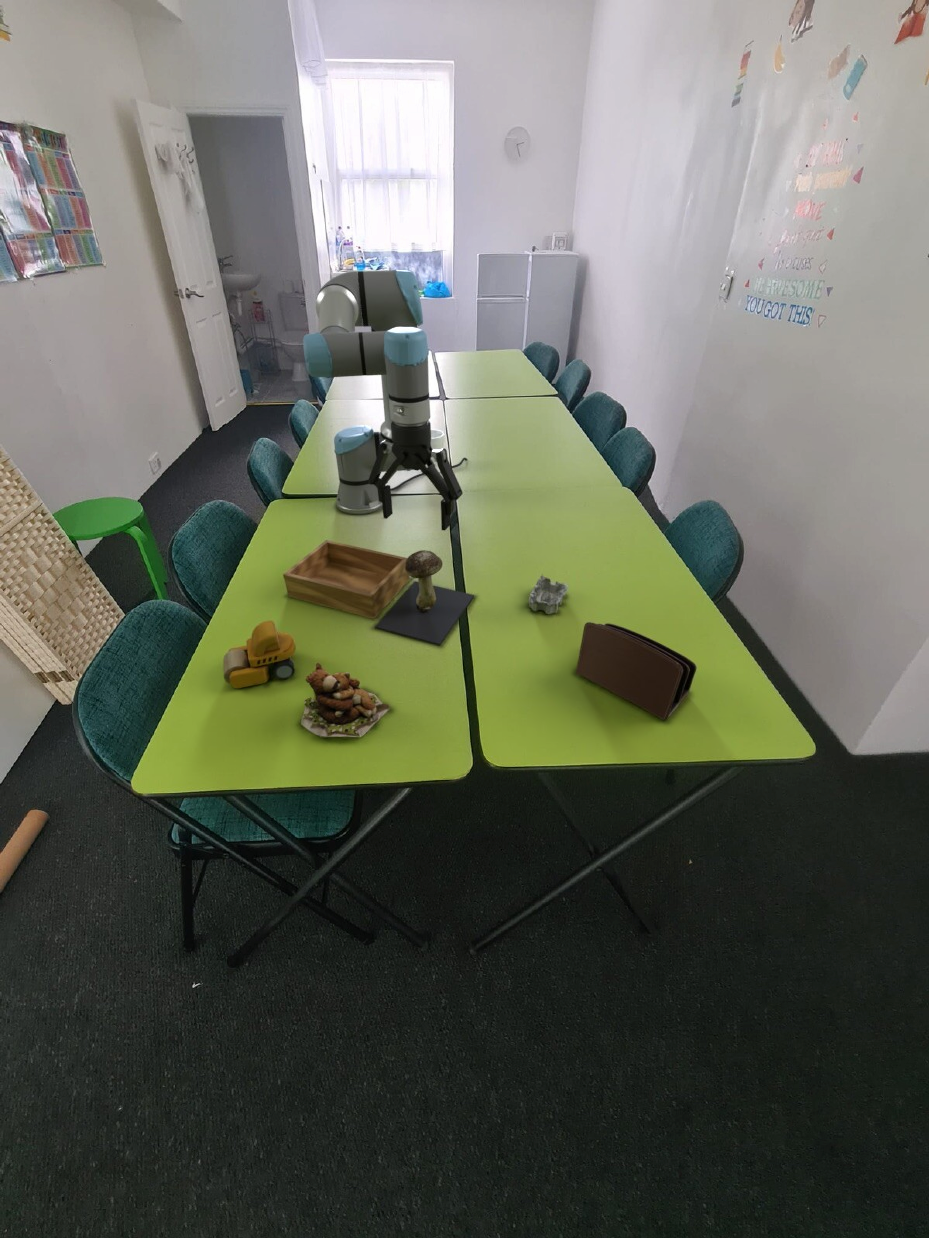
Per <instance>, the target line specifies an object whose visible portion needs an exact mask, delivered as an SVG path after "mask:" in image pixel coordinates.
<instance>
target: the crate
mask: <svg viewBox="0 0 929 1238" xmlns="http://www.w3.org/2000/svg"><path fill="white" fill-rule="evenodd" d="M407 558H408V557H406V556H400V555H396V554H391V553H387V552H382V551H378V550H373V549H369V548H365V547H359V546H355V545H350V544H346V543H341V542H337V541H332V540H329V539H326V540H324V541H323V542H322V543H320V544H319V545H317V546H316V547H315V548H314V549H313V550H312V551H311V552H309V553H308V554H307V555H306V556H304V557H303V558H302V559H300V560H299V561H298V562H296V563H295V564H294V565H293V566H292V567H290V568H289V569H288V570H287V571H286V572H284V573H283V574H282V575H283V580H284V584H285V588H286V589H285V590H286V593H287V597H290V598H293V599H297V600H300V601H305V602H308V603H312V604H316V605H320V606H322V607H326V608H327V607H328V608H330V609H331V608H332V609H335V610H339V611H343V612H345V613H350V614H353V615H358V616H361V617H364V618H369V619H372V620H374V619H376V618H377V617H378V615H379V614H380V613H381V612H382V611H383V610H384V609H385V608H386V606H387V605H389V603H391V601H392V600H393V599H394V597H396V595H397V594H398V593H399V592H400V591H401V590H402V589H403V588H404V587H405V586H406V584H407V583H408V582H409V581H411V576H409V575H408V574H407V572H406V570H405V563H406V560H407Z"/></svg>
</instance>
